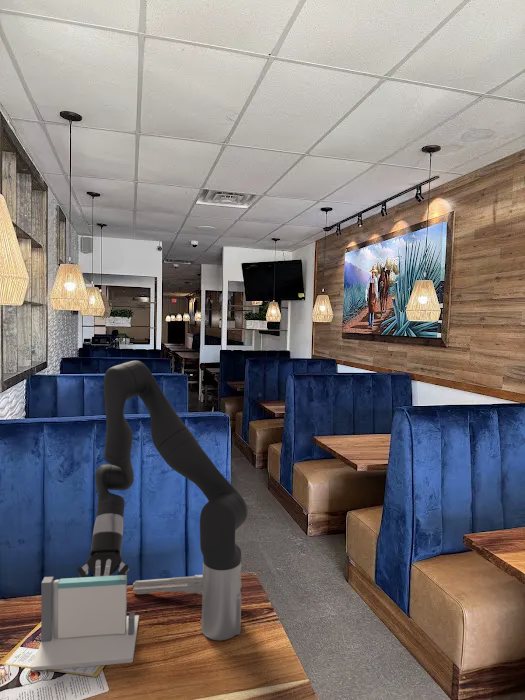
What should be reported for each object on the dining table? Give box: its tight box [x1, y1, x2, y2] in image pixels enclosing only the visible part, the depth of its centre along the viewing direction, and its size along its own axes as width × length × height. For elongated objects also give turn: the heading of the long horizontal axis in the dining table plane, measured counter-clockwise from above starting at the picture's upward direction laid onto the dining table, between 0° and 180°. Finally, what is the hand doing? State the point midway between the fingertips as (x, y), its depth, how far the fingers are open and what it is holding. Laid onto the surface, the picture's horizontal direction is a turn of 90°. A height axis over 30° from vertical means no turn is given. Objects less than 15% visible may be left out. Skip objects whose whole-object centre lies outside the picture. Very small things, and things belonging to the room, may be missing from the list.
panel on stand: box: [29, 576, 140, 672], centre depth 108 cm, size 21×15×15 cm
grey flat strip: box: [132, 574, 243, 595], centre depth 127 cm, size 2×30×8 cm, turn 83°
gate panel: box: [53, 574, 128, 638], centre depth 110 cm, size 16×2×13 cm, turn 100°
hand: (99, 608), depth 112 cm, fingers closed
